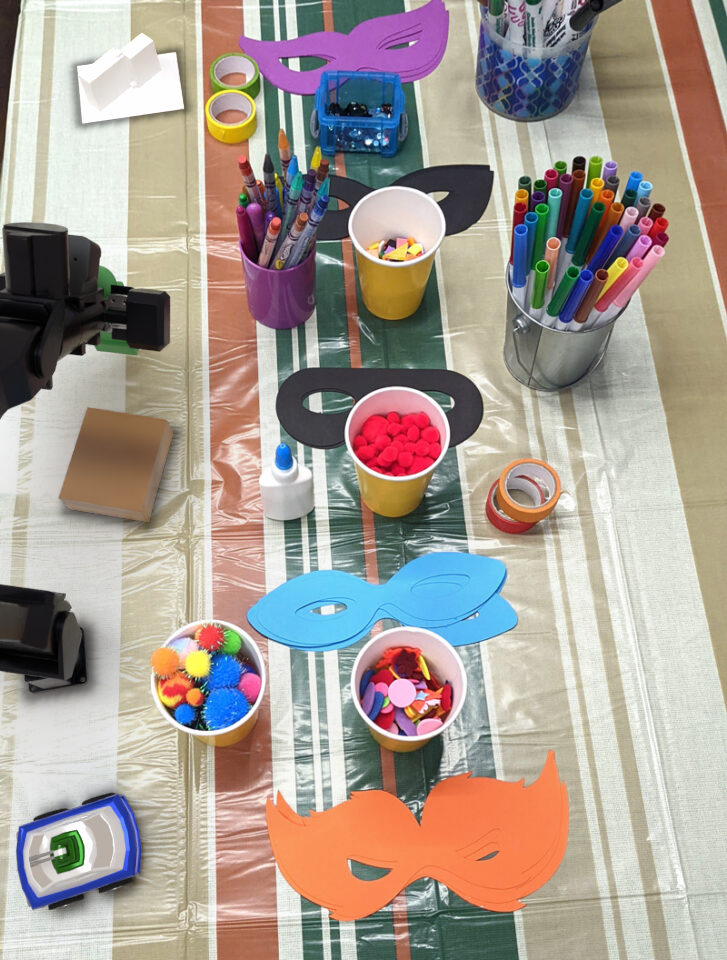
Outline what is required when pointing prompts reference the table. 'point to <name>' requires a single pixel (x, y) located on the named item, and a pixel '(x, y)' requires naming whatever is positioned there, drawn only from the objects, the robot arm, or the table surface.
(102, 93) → the napkin holder
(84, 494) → the oak block
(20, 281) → the robot arm
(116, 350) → the toy pawn
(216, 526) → the table surface
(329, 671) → the table surface
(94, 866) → the toy car
